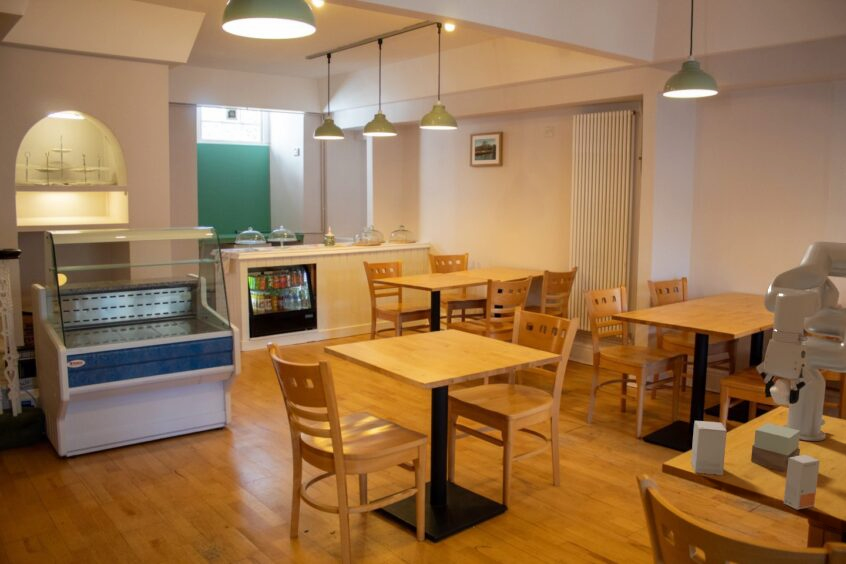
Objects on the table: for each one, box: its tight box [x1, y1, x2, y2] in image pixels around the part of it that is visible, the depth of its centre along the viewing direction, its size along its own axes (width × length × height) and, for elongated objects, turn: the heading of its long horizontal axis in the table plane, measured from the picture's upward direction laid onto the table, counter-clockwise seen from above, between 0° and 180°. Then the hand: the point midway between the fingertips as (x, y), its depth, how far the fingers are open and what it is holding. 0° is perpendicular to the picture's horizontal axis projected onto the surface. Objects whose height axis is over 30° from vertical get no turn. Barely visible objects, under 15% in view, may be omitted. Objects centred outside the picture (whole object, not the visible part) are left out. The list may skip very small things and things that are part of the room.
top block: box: [753, 422, 800, 455], centre depth 206 cm, size 9×9×5 cm
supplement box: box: [690, 420, 727, 476], centre depth 200 cm, size 7×7×13 cm
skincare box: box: [783, 454, 821, 511], centre depth 179 cm, size 6×4×12 cm
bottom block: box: [750, 444, 801, 473], centre depth 207 cm, size 9×9×5 cm
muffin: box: [770, 378, 792, 406], centre depth 204 cm, size 6×6×7 cm
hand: (781, 399), depth 204 cm, fingers closed on muffin, 6 cm apart
